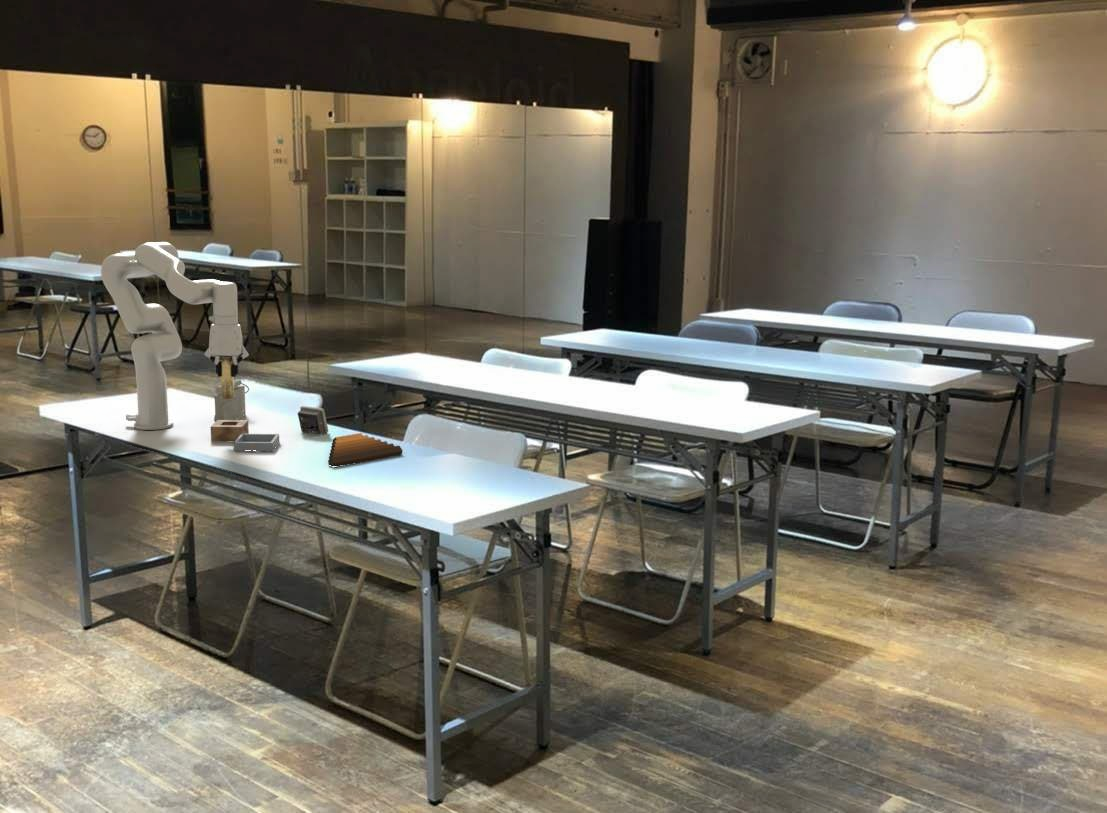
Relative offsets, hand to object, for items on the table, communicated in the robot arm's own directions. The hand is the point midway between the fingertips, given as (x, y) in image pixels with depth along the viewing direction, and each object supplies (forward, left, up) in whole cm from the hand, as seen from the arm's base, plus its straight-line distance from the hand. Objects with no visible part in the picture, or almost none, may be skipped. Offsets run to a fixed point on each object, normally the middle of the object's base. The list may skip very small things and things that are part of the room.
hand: (227, 375), depth 338 cm
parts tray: (+11, -12, -21) cm, 27 cm away
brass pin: (0, 0, -7) cm, 7 cm away
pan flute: (+40, -19, -22) cm, 50 cm away
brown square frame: (0, 0, -21) cm, 21 cm away
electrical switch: (+26, +8, -21) cm, 35 cm away
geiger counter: (-5, +24, -21) cm, 33 cm away
